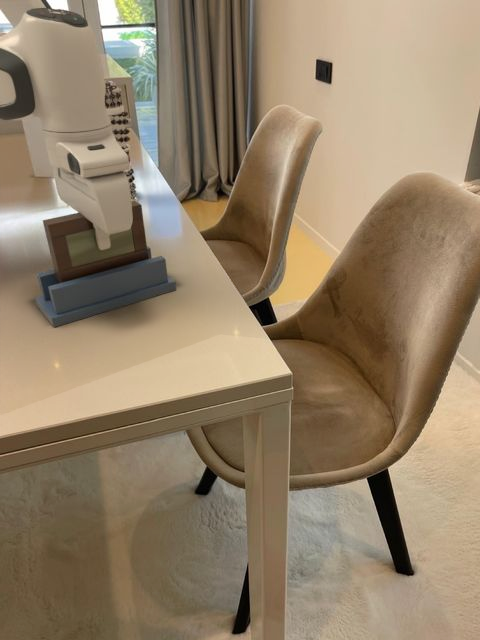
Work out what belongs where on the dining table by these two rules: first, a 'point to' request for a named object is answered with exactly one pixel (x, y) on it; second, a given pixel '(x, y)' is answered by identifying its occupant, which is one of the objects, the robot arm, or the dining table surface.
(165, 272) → the holder
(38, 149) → the white tall rectangular block
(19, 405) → the dining table surface
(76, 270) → the frame
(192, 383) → the dining table surface
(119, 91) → the decorative candle
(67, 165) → the robot arm
